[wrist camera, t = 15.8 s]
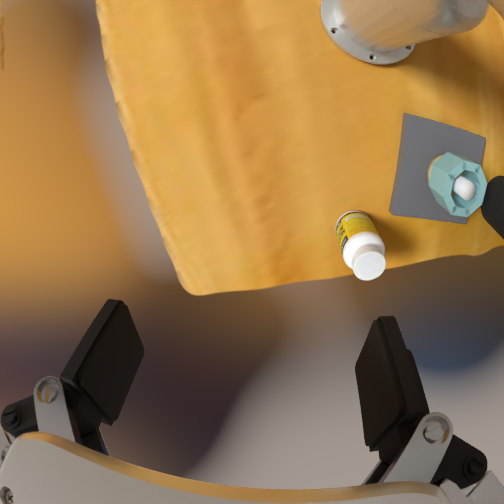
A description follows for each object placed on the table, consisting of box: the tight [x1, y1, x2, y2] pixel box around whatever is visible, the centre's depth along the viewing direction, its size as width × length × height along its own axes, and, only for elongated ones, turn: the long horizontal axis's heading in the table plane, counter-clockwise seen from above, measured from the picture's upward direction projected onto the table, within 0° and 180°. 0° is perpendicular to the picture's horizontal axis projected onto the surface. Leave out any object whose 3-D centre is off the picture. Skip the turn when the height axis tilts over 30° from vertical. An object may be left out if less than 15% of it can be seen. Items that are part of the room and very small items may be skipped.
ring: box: [428, 152, 487, 217], centre depth 27 cm, size 7×7×4 cm
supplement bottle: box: [336, 210, 386, 280], centre depth 34 cm, size 5×5×10 cm
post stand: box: [389, 113, 486, 224], centre depth 28 cm, size 14×14×8 cm
